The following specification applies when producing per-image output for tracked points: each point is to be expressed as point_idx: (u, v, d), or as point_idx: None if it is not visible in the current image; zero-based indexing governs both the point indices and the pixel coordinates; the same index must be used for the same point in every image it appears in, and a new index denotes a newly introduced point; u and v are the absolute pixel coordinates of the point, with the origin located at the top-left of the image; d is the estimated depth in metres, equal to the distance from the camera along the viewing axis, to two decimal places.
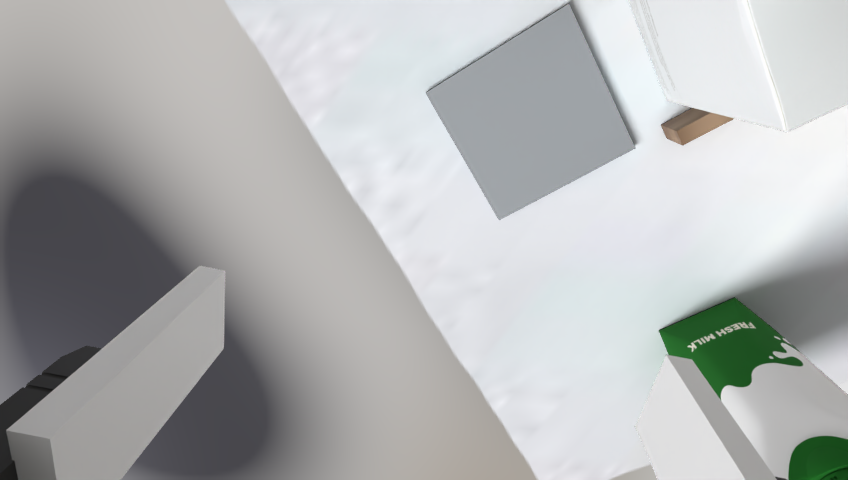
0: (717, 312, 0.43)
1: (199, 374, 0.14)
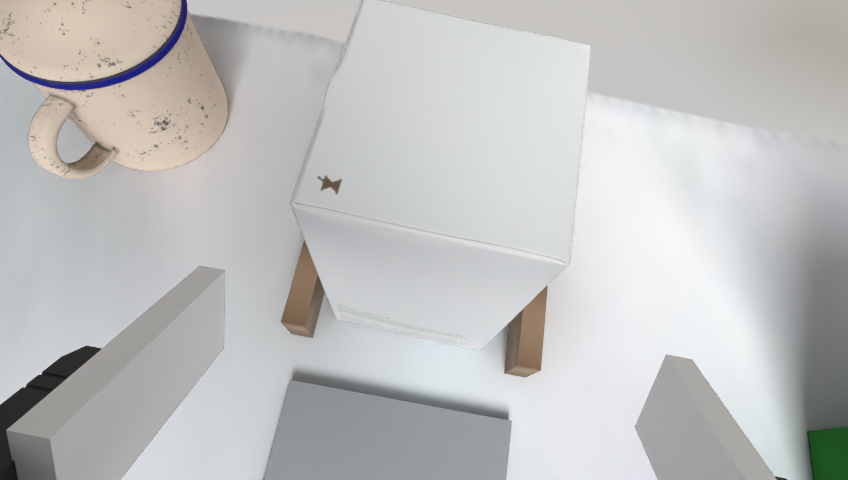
0: (828, 472, 0.26)
1: (199, 374, 0.14)
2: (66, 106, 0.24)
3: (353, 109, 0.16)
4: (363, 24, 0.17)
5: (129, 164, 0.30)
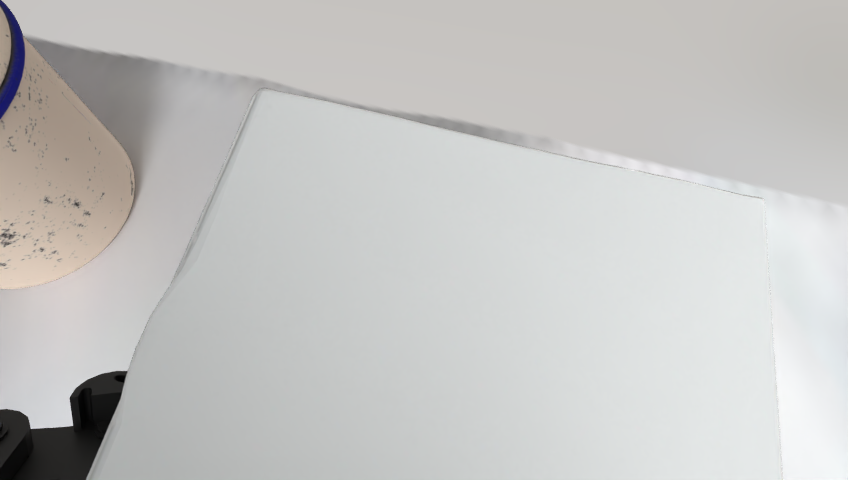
0: None
1: None
2: None
3: (195, 408, 0.06)
4: (250, 157, 0.08)
5: None
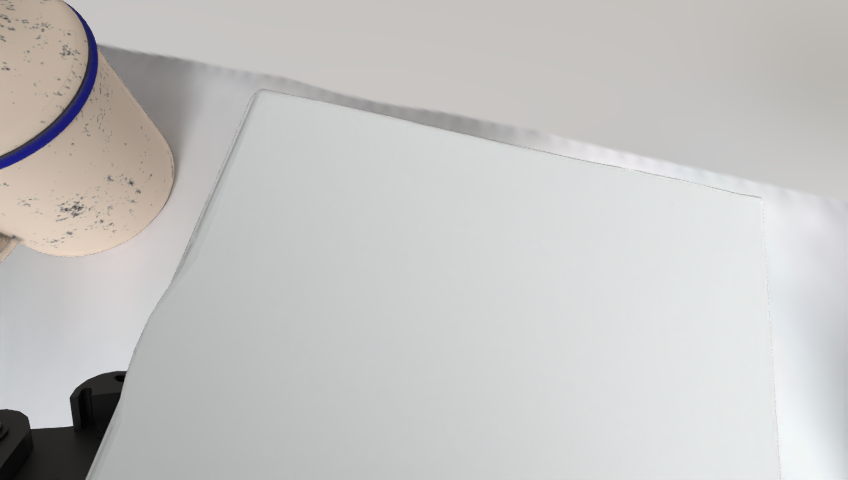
0: None
1: None
2: None
3: (193, 407, 0.06)
4: (249, 158, 0.08)
5: (41, 250, 0.24)
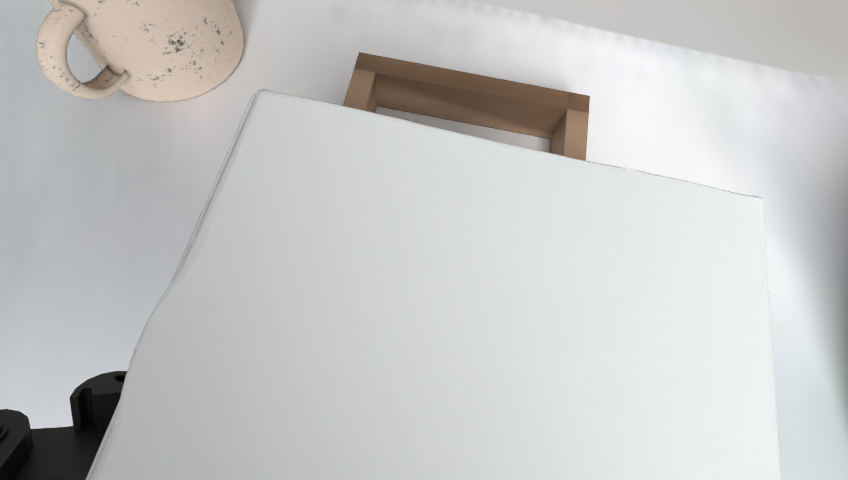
0: None
1: None
2: (77, 13, 0.23)
3: (194, 408, 0.06)
4: (249, 158, 0.08)
5: (141, 92, 0.29)
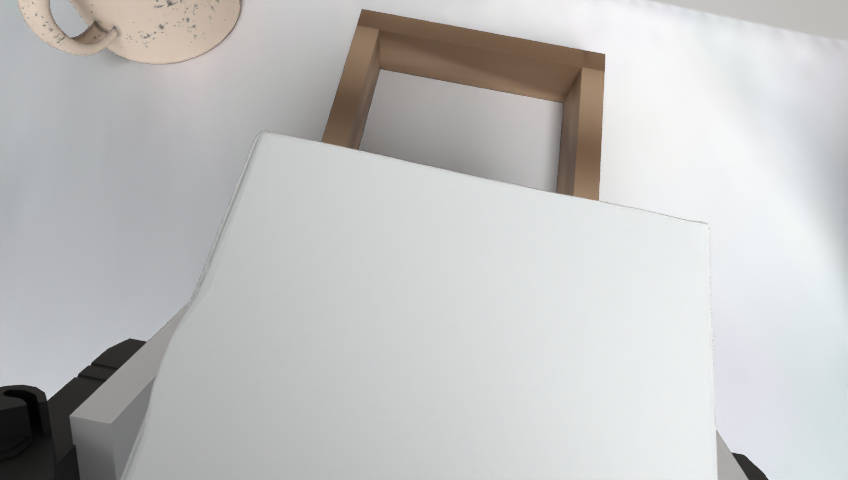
0: None
1: None
2: None
3: (211, 418, 0.07)
4: (254, 195, 0.09)
5: (131, 53, 0.27)
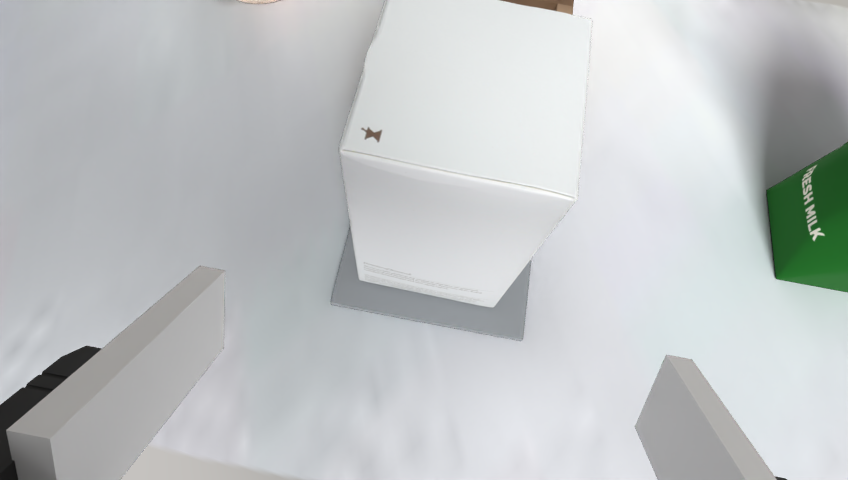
0: (779, 206, 0.34)
1: (199, 374, 0.14)
2: None
3: (388, 72, 0.19)
4: (394, 1, 0.20)
5: None
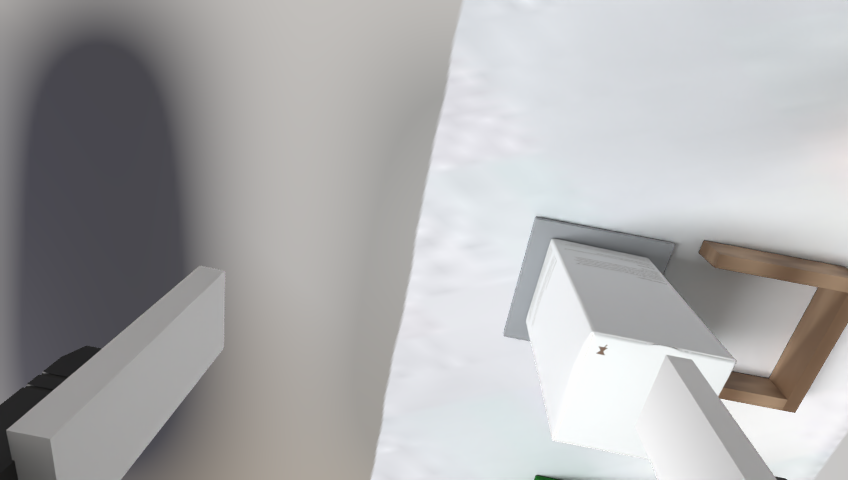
0: None
1: (199, 374, 0.14)
2: None
3: (648, 359, 0.29)
4: (711, 363, 0.29)
5: None
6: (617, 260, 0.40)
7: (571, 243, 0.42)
